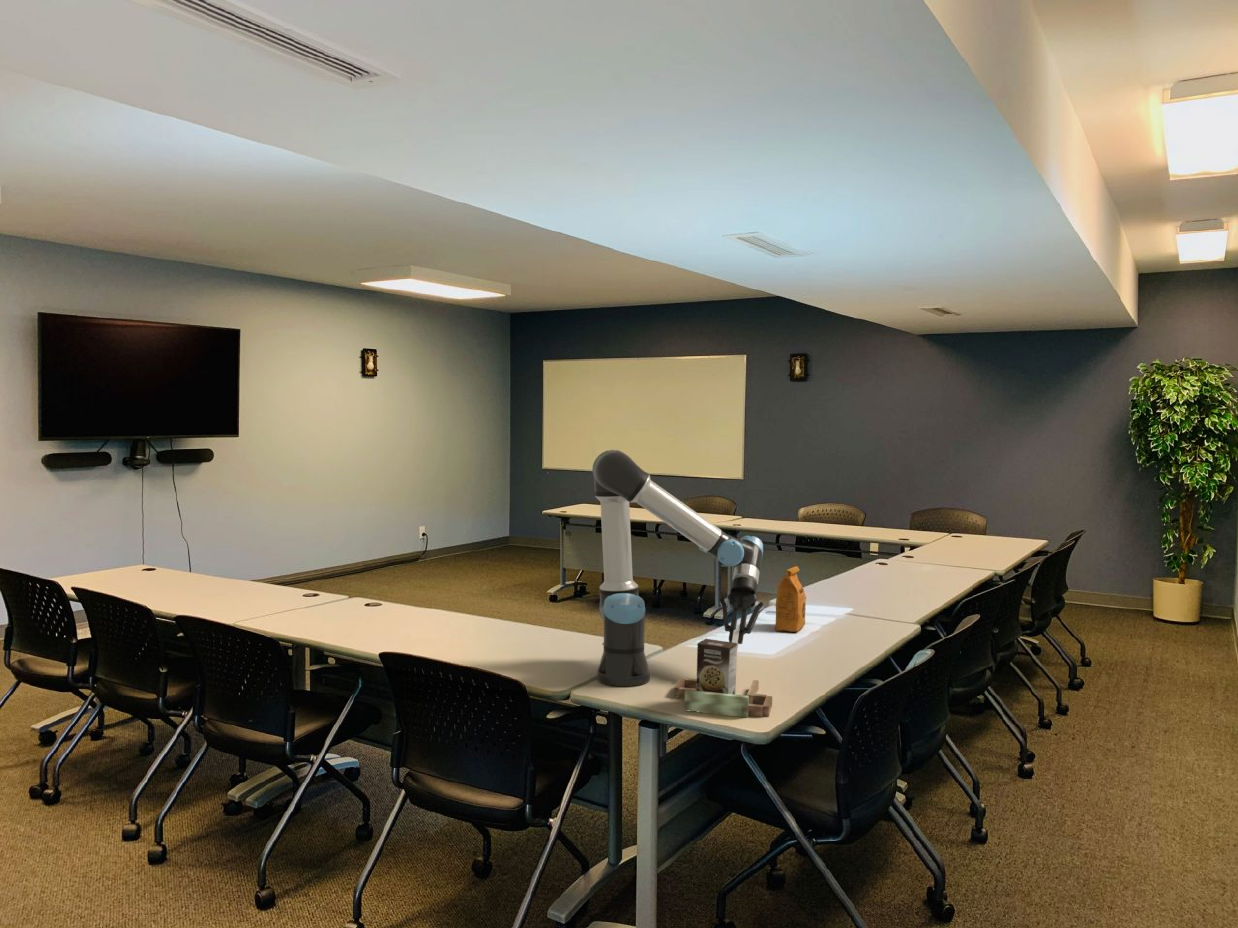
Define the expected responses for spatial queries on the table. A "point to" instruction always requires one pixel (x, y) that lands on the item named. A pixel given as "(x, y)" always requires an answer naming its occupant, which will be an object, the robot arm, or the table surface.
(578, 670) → the table surface
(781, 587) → the coffee package
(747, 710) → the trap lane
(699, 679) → the coffee box
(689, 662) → the table surface
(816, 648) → the table surface
